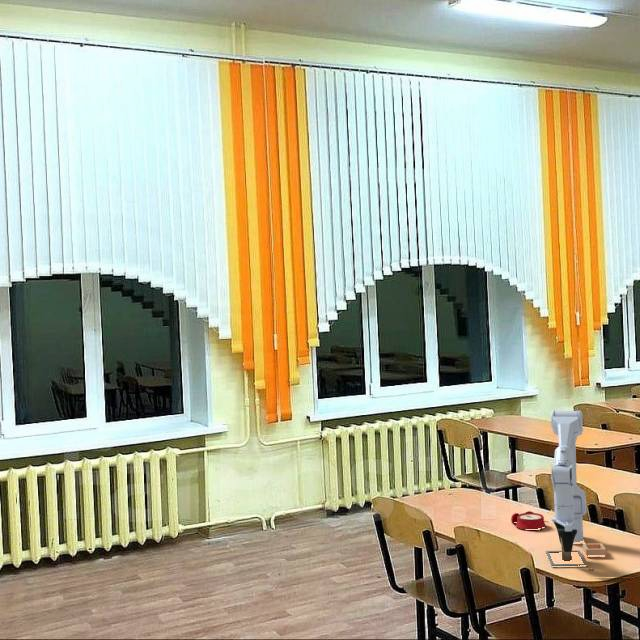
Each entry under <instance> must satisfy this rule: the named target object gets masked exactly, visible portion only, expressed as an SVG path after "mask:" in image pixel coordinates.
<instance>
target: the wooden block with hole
mask: <svg viewBox="0 0 640 640" xmlns="http://www.w3.org/2000/svg"><path fill="white" fill-rule="evenodd" d="M583 551H584V552H585V554H586V555H587V556H588V555H606V556H607V549H606V547H605V546H604V544H603V543H601V542H599V543H598V542H597V543H587V544H583V545H582V552H583ZM585 554H584V555H585Z"/></svg>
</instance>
